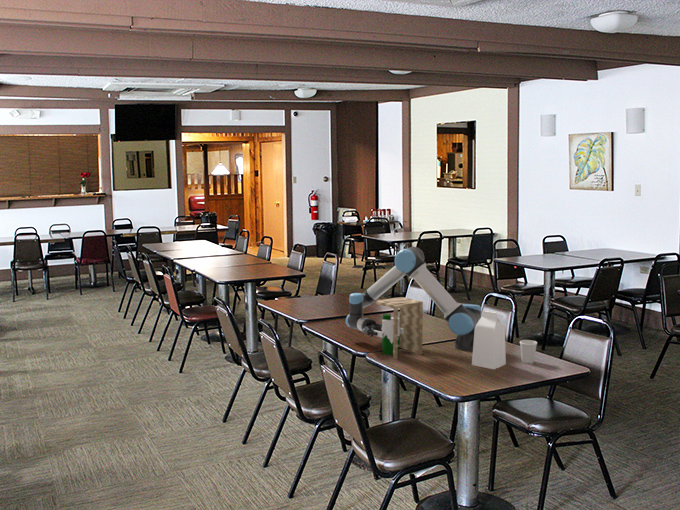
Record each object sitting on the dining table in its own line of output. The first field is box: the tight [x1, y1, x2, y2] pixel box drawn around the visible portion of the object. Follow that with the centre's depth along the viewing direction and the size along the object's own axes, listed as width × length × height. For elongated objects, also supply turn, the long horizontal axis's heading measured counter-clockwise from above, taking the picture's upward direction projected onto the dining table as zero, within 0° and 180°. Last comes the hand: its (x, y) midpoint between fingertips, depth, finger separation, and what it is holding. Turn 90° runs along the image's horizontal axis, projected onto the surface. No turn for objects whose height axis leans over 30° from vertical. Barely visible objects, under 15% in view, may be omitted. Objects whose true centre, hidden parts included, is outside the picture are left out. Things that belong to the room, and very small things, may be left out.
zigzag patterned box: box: [374, 296, 424, 360], centre depth 357 cm, size 16×18×27 cm
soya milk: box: [381, 313, 400, 356], centre depth 357 cm, size 9×9×20 cm
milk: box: [471, 310, 507, 370], centre depth 336 cm, size 12×12×26 cm
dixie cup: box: [519, 339, 538, 364], centre depth 342 cm, size 8×8×10 cm
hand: (392, 333), depth 355 cm, fingers open, 13 cm apart
